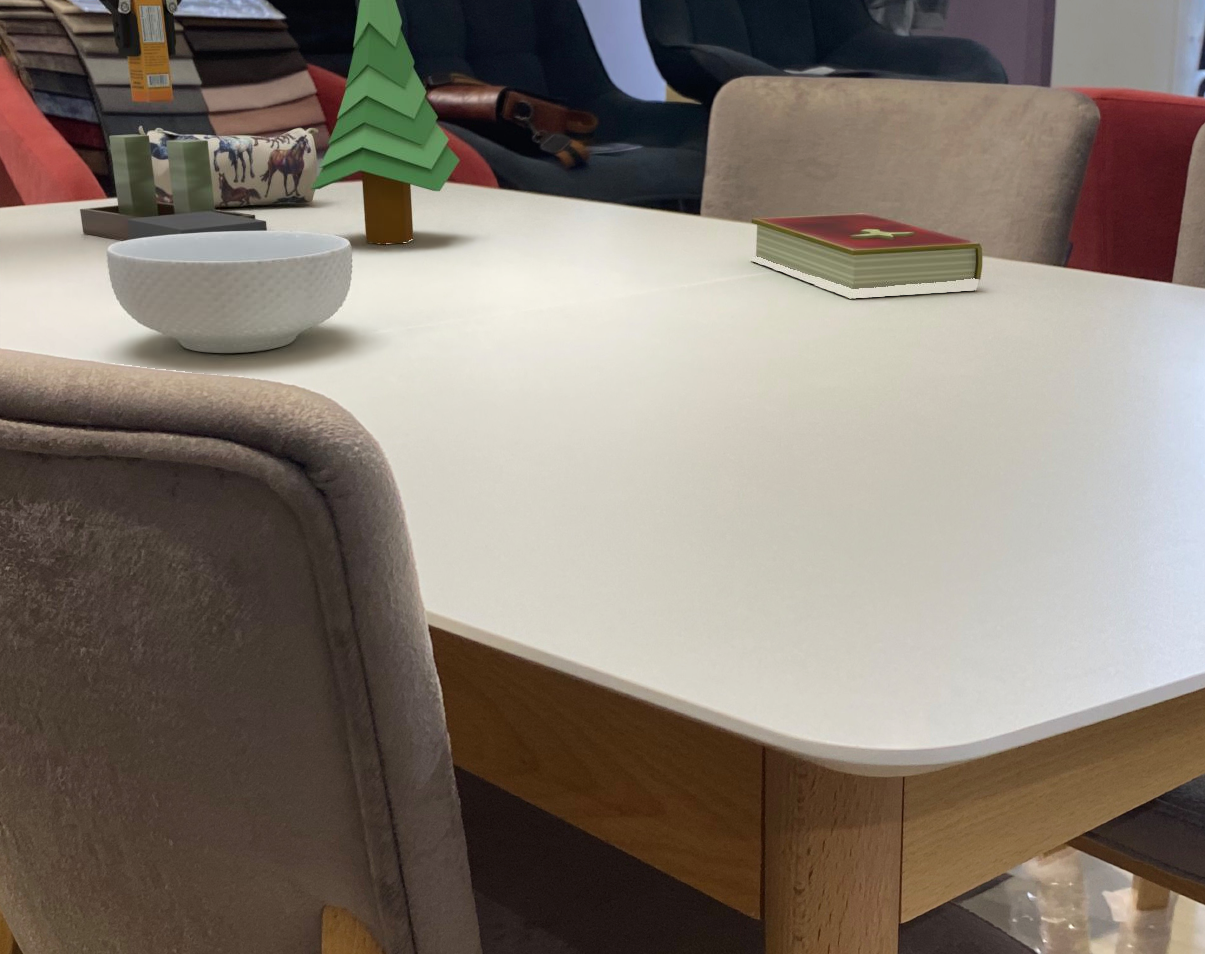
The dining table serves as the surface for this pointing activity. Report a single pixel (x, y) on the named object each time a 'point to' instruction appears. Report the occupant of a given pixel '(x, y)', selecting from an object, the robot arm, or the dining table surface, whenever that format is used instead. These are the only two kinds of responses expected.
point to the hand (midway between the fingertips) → (147, 54)
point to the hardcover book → (866, 250)
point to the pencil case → (246, 167)
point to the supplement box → (150, 55)
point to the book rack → (153, 185)
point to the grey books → (191, 224)
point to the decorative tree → (386, 127)
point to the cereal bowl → (231, 285)
